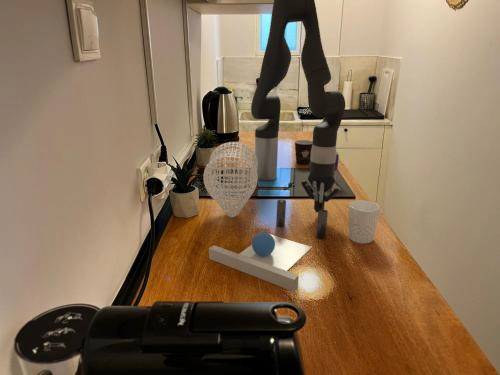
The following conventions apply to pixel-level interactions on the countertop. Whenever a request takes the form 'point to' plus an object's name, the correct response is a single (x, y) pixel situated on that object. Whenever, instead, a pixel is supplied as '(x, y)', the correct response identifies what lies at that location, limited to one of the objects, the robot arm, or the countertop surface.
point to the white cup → (362, 221)
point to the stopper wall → (254, 267)
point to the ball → (263, 244)
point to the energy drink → (336, 166)
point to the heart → (212, 178)
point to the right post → (321, 224)
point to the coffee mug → (303, 151)
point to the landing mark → (280, 253)
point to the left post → (281, 213)
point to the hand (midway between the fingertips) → (318, 211)
